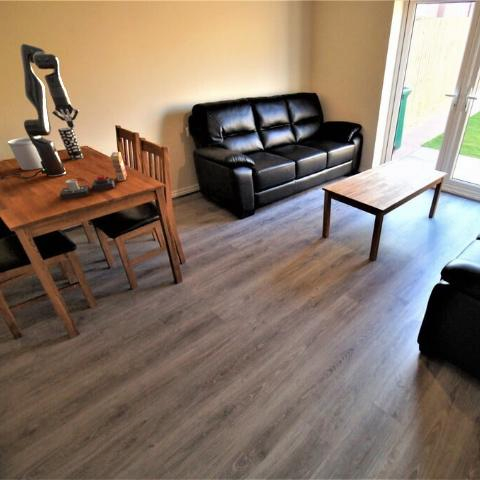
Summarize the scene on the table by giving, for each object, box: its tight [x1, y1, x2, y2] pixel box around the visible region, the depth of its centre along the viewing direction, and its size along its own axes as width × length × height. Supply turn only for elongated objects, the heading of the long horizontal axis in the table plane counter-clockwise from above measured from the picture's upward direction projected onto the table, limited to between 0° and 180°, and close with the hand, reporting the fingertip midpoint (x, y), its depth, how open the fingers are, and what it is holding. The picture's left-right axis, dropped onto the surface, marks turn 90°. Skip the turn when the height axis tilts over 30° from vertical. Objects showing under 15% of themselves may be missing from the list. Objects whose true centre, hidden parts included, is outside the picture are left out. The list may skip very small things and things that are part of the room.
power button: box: [96, 174, 107, 180], centre depth 185 cm, size 4×4×2 cm
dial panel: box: [59, 184, 91, 201], centre depth 177 cm, size 12×10×3 cm
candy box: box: [110, 151, 128, 182], centre depth 195 cm, size 9×4×15 cm, turn 20°
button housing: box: [91, 176, 116, 192], centre depth 186 cm, size 10×9×5 cm
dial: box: [65, 178, 80, 191], centre depth 175 cm, size 5×5×5 cm
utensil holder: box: [7, 137, 43, 171], centre depth 211 cm, size 15×15×18 cm
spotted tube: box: [57, 127, 84, 160], centre depth 227 cm, size 8×8×20 cm
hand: (71, 127), depth 188 cm, fingers closed
